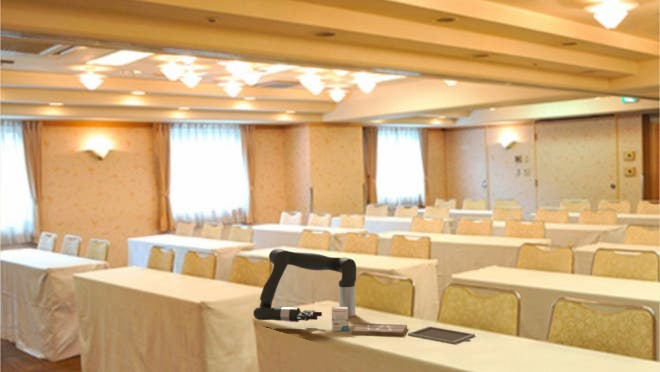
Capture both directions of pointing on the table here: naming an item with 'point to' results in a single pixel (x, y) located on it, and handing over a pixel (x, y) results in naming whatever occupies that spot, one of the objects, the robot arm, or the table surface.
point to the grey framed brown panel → (442, 335)
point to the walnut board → (379, 329)
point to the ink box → (340, 319)
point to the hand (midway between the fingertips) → (319, 315)
